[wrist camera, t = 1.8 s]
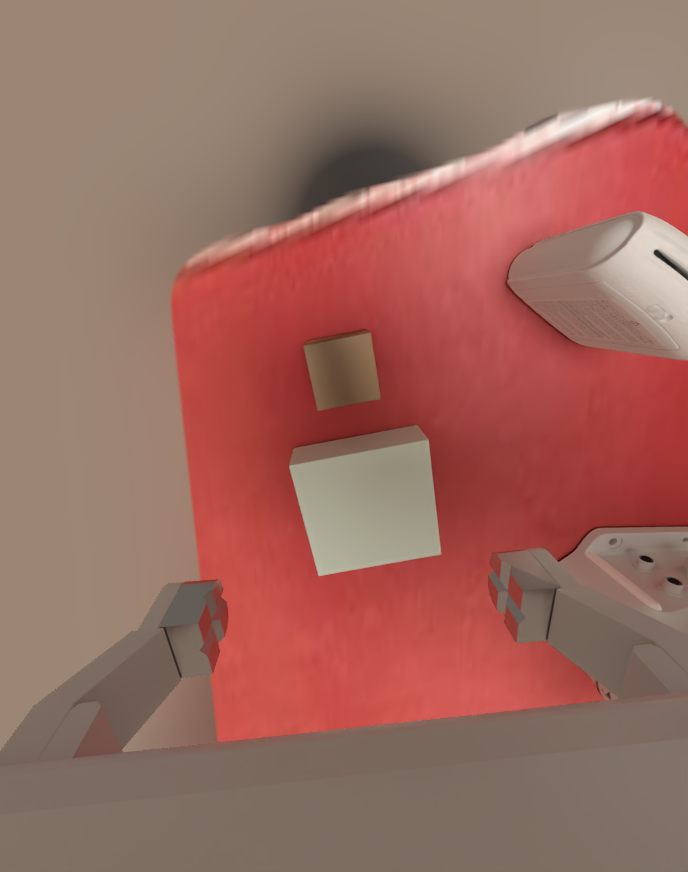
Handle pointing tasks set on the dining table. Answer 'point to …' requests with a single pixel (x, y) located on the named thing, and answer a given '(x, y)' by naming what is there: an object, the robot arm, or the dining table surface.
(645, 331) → the white slotted box
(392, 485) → the mint base block
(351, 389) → the walnut cube
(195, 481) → the dining table surface
